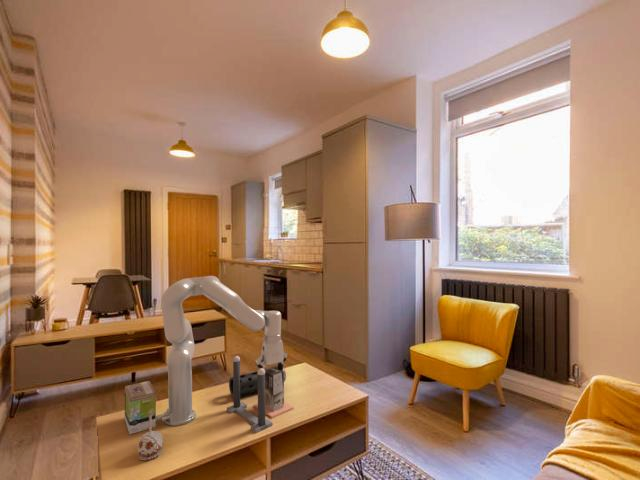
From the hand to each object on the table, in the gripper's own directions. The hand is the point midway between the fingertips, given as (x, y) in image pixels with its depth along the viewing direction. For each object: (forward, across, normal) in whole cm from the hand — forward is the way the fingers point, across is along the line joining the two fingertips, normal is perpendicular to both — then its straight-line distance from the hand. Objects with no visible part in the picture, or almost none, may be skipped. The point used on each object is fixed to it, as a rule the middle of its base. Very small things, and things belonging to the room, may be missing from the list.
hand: (271, 375), depth 153 cm
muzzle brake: (+16, +5, +19) cm, 25 cm away
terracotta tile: (+15, +1, -1) cm, 15 cm away
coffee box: (+14, +1, 0) cm, 14 cm away
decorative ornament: (+17, -51, +1) cm, 54 cm away
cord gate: (+15, -12, -1) cm, 19 cm away
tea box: (+17, -48, +27) cm, 58 cm away
